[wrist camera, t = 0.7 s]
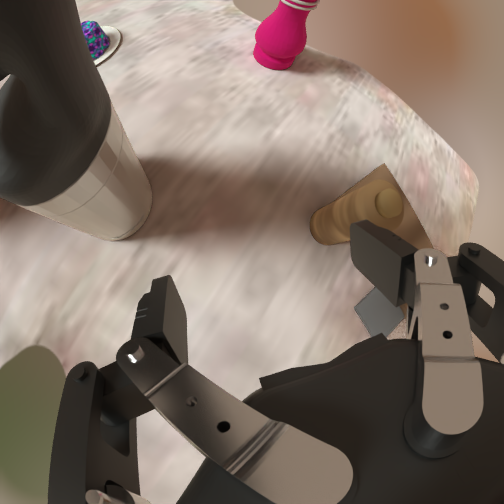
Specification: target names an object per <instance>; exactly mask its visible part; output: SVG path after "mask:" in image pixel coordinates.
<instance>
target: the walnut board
mask: <svg viewBox="0 0 504 504" xmlns="http://www.w3.org/2000/svg"><path fill="white" fill-rule="evenodd" d="M378 179H381V180H385V181H388V182H389V183H391V184H392V185H393V186H394V187H395V188H396V189H397V190H398V192H399V193H400V195H401V198H402V200H403V204H404V217H403V220H402V223H401V224H400V226H399V227H398V228H397V229H395V230H393V231H392V232H393V233H395V234H396V235H398V236H399V237H401V238H402V239H404V240H405V241H407V242H408V243H410V244H411V245H413V246H414V247H416V248H417V249H419V250H420V249H425V248H431V249H434V248H433V246H432V244H431V242H430V240H429V238H428V236H427V234H426V232H425V230H424V229H423V227H422V225H421V223H420V221H419V219H418V217H417V216H416V214H415V212H414V210H413V208H412V207H411V205H410V203H409V201H408V200H407V198H406V196H405V195H404V193H403V191H402V190H401V188H400V186H399V185H398V183H397V182H396V180H395V179H394V177H393V175H392V174H391V172H390V171H389V169H388V168H387V166H386V165H385V163H384V164H382V165H381V166H379V167H377V168H376V169H375V170H374V171H372V172H371V173H370V174H368V175H367V176H366V177H364V178H363V179H362V180H361V181H359V182H358V183H357V184H355V185H354V186H353V187H351V188H350V189H349V190H347V191H346V192H345V193H344V194H342V195H341V196H340V197H338V198H337V199H336V200H338V199H340V198H342V197H344V196H346V195H347V194H349V193H351V192H353V191H355V190H357V189H359V188H361V187H363V186H365V185H366V184H368V183H370V182H372V181H374V180H378ZM336 200H334V201H336ZM407 306H408V304H407V303H405V304H403V305H401V306H400V308H401V310H402V312H403V314H404V316H405V317H404V318H405V319H406V318H407Z"/></svg>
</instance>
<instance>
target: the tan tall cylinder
mask: <svg viewBox="0 0 504 504" xmlns="http://www.w3.org/2000/svg"><path fill="white" fill-rule="evenodd" d="M403 217H404V204H403V200H402V198H401V195H400V193H399V192H398V190H397V189H396V188H395V187H394V186H393V185H392V184H391V183H389V182H388V181H385V180H381V179H378V180H374V181H372V182H370V183H368V184H366V185H365V186H363V187H361V188H359V189H357V190H355V191H353V192H351V193H349V194H347V195H346V196H344V197H342V198H340V199H338V200H336V201H334V202H332V203H330V204H329V205H327V206H325V207H323V208H321V209H319V210H317V211H316V212H315V213H314V214H313V215H312V217H311V220H310V231H311V234H312V236H313V237H314V238H315V240H316V241H318V242H319V243H321V244H323V245H332V244H337V243H341V242H345V241H350V225H351V223H354V222H358V221H361V220H365V219H367V220H369V221H370V222H372V223H374V224H375V225H377V226H379V227H382V228H385V229H389V230H390V231H393V230H395V229H397V228H398V227H399V226H400V224H401V223H402V220H403Z"/></svg>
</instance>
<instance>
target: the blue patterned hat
mask: <svg viewBox="0 0 504 504" xmlns="http://www.w3.org/2000/svg"><path fill="white" fill-rule="evenodd" d="M81 27H82V30H83V33H84V37H85V40H86V43H87V45H88V48H89V50H90V53H91V56H92V58H93V59H96V60H95V61H94V63H95V65H97V64H99V63H100V62H102V61H103V60H104V59H106V58H107V57H108V56H109V55H110V54H111V53H112V52H113V51H114V50H115V49H116V47H117V46H118V44H119V42H120V37H121V36H120V33H119V31H118V30H117V29H116V28H113V27H110V26H99V25H98V23H97V22H95V21H91V22H90V21H85V22H83V23H81ZM107 36H108V37H109V38H110V42H109V41H108V37H107ZM109 45H110V46H109ZM108 46H109V48H108ZM106 48H108V49H107V51H106V52H105V53H104V50H105V49H106ZM103 53H104V54H103ZM102 54H103V55H102ZM101 55H102V56H101ZM100 56H101V57H100ZM97 58H98V59H97Z"/></svg>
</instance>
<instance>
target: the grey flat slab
mask: <svg viewBox="0 0 504 504" xmlns="http://www.w3.org/2000/svg"><path fill="white" fill-rule="evenodd" d="M354 309H355V310H356V312H357V314H358V315H359V317H360V318H361V320H362V322H363V323H364V325H365V327H366V328H367V330H368V331H369V333H370V335H371V336H372V337H373V336H375V335H378V334H380V333H383V334H384V336H385V337H387V336H388V335H389V334H390V333H391V332H392V331H393V330H394V329H395V327H396V326H397V325H398V324H399V323H400V322H401V321H402V320H403V318H404V317H405V316H404V314H403V312H402V310H401V308H400V306H398V307H395V306H394V305H393V304H392V303H391V302H390V301H389V300H388V299H387V298H386V297H385V296H384V295H383V294H382V293H381V292H380V291H379V290H378V289H377V288H376V287H375V288H374V289H373V290H372V291H371V292H370V293H369V294H368V295H367V296H366V297H365V298H364V299H363V300H362V301H360V302H359V303H358V304H357V305H356V306H355V307H354Z"/></svg>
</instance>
